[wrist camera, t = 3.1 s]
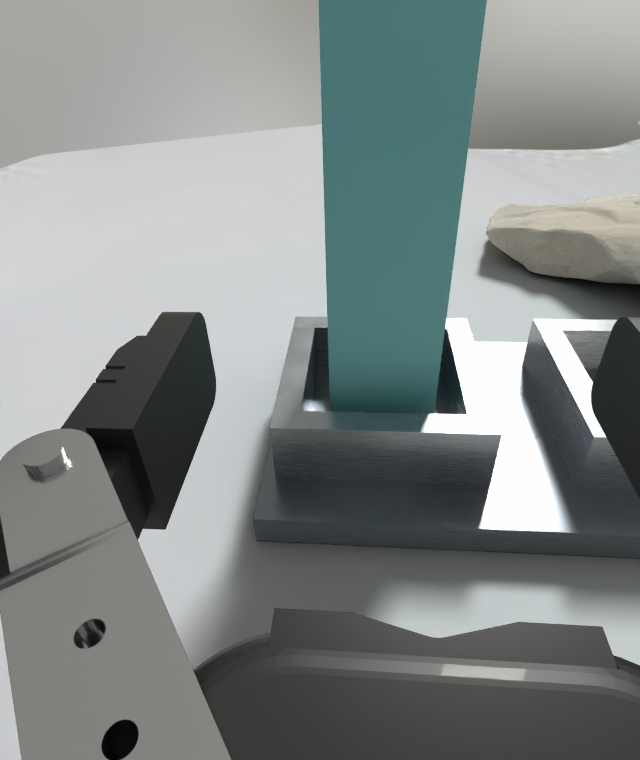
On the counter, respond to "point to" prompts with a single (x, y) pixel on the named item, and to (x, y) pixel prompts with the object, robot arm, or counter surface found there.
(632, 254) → the rock
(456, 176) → the plug
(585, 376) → the panel
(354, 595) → the counter surface
